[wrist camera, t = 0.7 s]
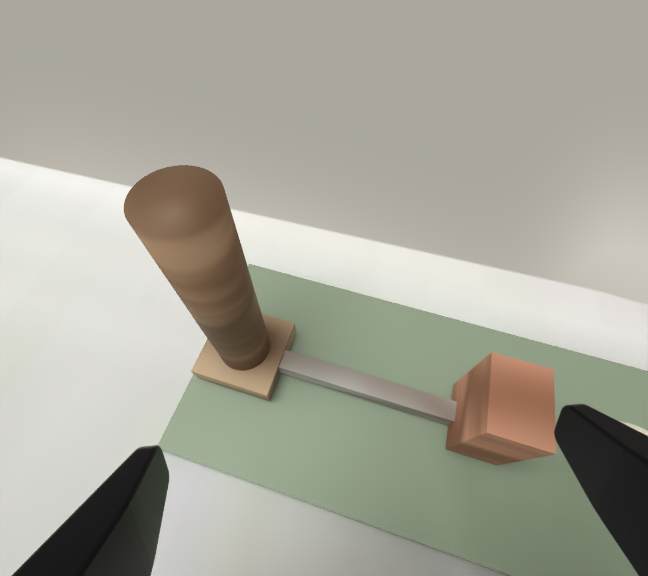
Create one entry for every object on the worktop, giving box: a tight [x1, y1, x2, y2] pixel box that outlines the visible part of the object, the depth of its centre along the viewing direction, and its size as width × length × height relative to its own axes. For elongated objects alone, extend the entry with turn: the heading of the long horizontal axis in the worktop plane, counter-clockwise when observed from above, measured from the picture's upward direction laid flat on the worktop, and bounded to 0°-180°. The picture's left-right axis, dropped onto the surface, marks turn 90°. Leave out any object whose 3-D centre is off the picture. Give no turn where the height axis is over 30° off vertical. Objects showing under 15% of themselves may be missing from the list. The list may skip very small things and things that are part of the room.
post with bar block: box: [124, 165, 556, 465], centre depth 17 cm, size 5×20×14 cm, turn 73°
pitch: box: [158, 264, 648, 576], centre depth 19 cm, size 14×39×8 cm, turn 73°
